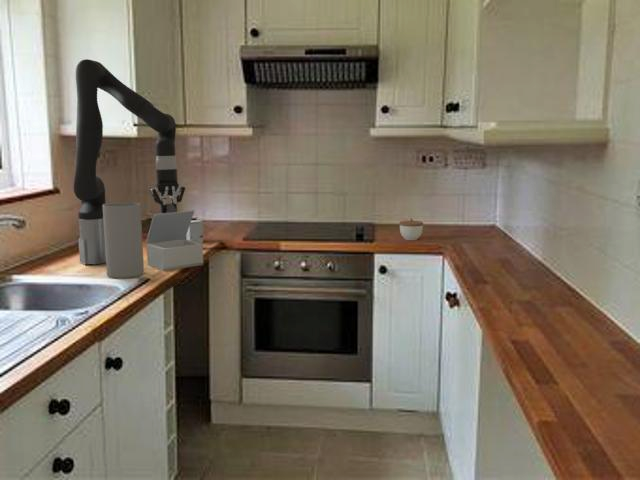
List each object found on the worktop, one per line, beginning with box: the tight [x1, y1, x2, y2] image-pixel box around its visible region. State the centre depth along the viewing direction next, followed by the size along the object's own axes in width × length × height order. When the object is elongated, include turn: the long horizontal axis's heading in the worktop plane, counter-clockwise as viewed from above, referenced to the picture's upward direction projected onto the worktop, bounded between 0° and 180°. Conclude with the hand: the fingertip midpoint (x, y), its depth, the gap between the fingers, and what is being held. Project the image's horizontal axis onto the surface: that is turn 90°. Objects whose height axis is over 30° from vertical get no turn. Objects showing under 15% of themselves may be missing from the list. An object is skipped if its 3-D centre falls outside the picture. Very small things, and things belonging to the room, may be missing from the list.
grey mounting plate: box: [145, 203, 195, 244], centre depth 244 cm, size 16×14×6 cm
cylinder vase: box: [103, 201, 145, 279], centre depth 225 cm, size 12×12×25 cm
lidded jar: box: [399, 218, 424, 241], centre depth 295 cm, size 11×11×9 cm
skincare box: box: [186, 219, 204, 245], centre depth 273 cm, size 6×4×12 cm
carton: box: [145, 239, 204, 272], centre depth 242 cm, size 16×14×8 cm
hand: (169, 214), depth 242 cm, fingers closed on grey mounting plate, 3 cm apart
